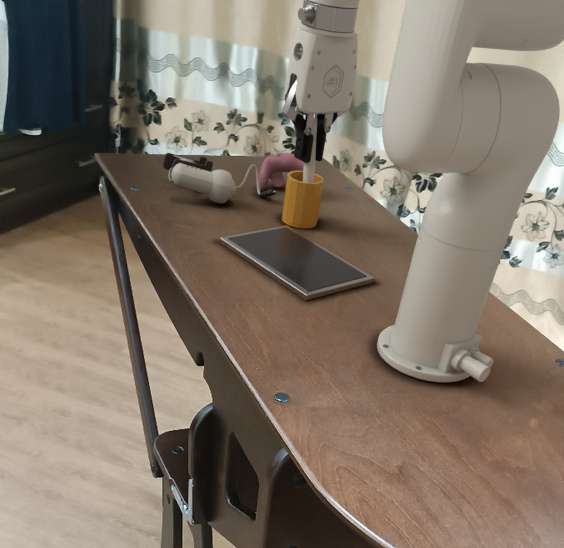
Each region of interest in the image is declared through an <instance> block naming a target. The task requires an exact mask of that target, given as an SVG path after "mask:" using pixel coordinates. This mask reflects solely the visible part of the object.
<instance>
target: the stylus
mask: <svg viewBox="0 0 564 548" xmlns="http://www.w3.org/2000/svg"><path fill="white" fill-rule="evenodd" d="M311 134H312V135H314V139H313V146H312V153H311V159H310V162H309V163H304V168H303V182H307V183H314V179H315V170H316V160H315V159H316V138H317V118H316V117H315V116H314V119H313V126H312V132H311Z"/></svg>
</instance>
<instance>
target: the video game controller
mask: <svg viewBox="0 0 564 548" xmlns="http://www.w3.org/2000/svg"><path fill="white" fill-rule="evenodd" d="M303 168H304V162H303V161H301V160H299V159H297V158H295V157H294V153H288V152H278V153H270V154H269V155H268V156H266V158H264V160H263V161H262V164H261V166H260V170H259V173H258V176H259V188H260V192H263V191H265V189H266V187H267V184H268V183H269V180H271V183H272V186H273V187H274V188H275V189H276V188H277V189H281V188H283V187H284V185H285V184H286V181H285V176H284V174H283V173H289V172H291V171H303ZM316 170H317V169H315V174H317V171H316Z"/></svg>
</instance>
